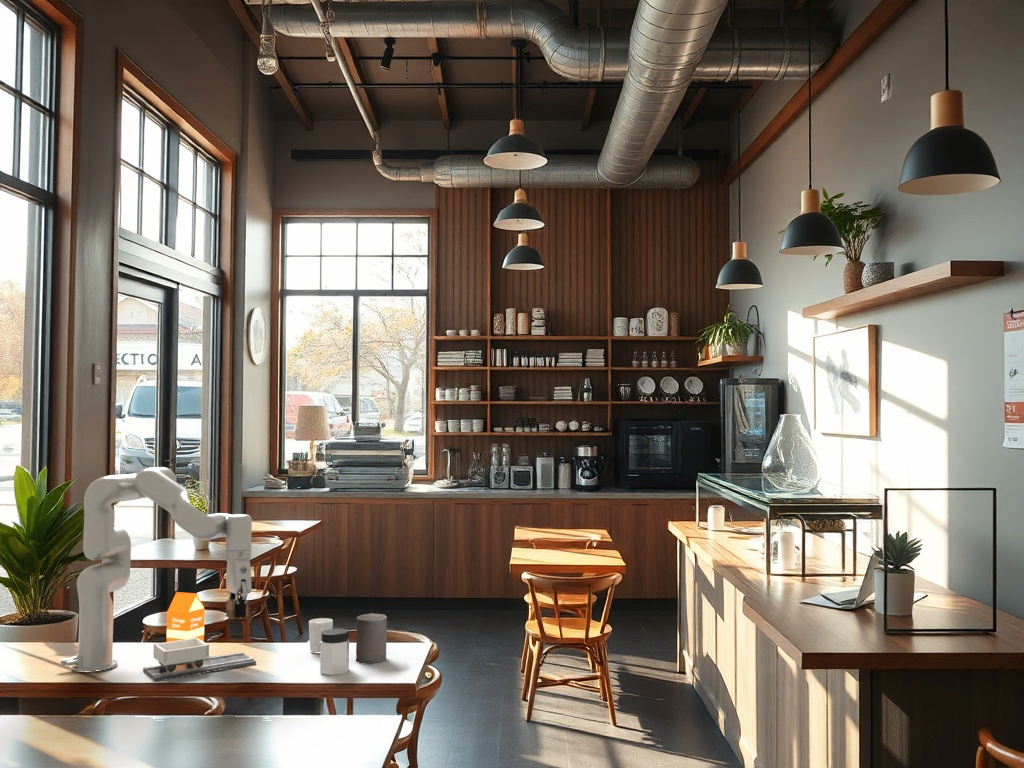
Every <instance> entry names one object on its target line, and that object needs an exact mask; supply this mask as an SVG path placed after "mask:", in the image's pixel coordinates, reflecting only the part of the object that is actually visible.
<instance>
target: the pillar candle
mask: <svg viewBox="0 0 1024 768" xmlns="http://www.w3.org/2000/svg"><path fill="white" fill-rule="evenodd" d="M387 619H388V616H387V615H385V614H381V613H373V612H371V613H365V614H360V615H358V616H356V634H355V635H356V636H355V637H356V639H355V642H356V643H355V648H356V649H355V654H356V655H355V656H356V657H355V662H356V661H357V662H356V663H358V662H359V663H358V664H361V663H365V664H364V665H375V664H374V663H377V664H381V663H383V661H384V662H386V660H387V638H388V637H387V633H388V631H387V625H388V620H387Z"/></svg>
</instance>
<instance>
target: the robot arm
mask: <svg viewBox="0 0 1024 768" xmlns="http://www.w3.org/2000/svg"><path fill="white" fill-rule="evenodd" d="M190 497H191V496H190V491H189V490H188V489H187V488H186V487H184V486H183V485H181V484H180V483H178V482H177V476H176V474H175V473H174V471H173V470H172V469H170V468H168V467H165V466H158V467H157V466H156V467H147V468H143V469H141V470H140V471H139V472H134V473H128V474H126V473H125V474H110V475H106V476H105V475H104V476H102V477H98V478H97V479H95V480H94V481H92V482H91V483H90V484H89V485H88V487H87V488H86V490H85V492H84V497H83V509H84V510H83V511H84V514H83V515H84V521H83V539H82V541H83V543H82V547H83V548H82V549H83V553H84V556H85V557H86V558H87V559H89V560H90V561H101V563H97V564H93V565H91V566H90V565H89V566H87V567H86V568H84V569H83V570H82V571H81V572H80V573H79V574H78V576H77V580H76V589H77V596H78V602H79V603H78V605H79V612H78V618H79V619H78V651H77V652H76V653H75V656H72V657H70V658H60V666H61V667H62V666H66V667H69V666H72V667H71V670H74V671H83V672H84V671H96V670H104V669H109V670H111V669H110V668H112V669H114V668H116V667H117V666H118V663H119V662H118V660H116V659H113V641H114V638H113V637H114V636H113V635H114V603H113V599H112V597H111V593H112V592H116V591H118V590H120V589H122V588H124V587H125V586H126V585H127V584H128V582H129V580H130V575H131V560H132V557H131V556H132V555H131V554H132V542H131V537H130V534H128V532H127V531H126V529H124V528H122V527H119V526H118V527H117V526H115V512H114V509H113V506H112V504H113V503H119V502H120V503H121V502H127V501H135V500H139V499H144V498H147V499H149V500H150V501H152V502H153V503H156V504H157V505H158V506H159V507H161V508H163V509H164V510H166V511H167V512H168V513H169V514H170V516H171V518H172V520H173V521H174V523H176V525H177V526H178V527H179V528H181V529H182V530H184V531H185V532H187V533H188V534H189V535H191V536H192V537H194V538H196V539H198V540H200V541H201V540H202V541H211V540H214V539H219V538H225V550H224V551H225V553H224V555H225V556H224V557H225V558H224V560H225V562H227V563H226V574H225V576H226V577H225V586H226V587H225V588H226V591H228V599H227V600H229V599H236V604H235V618H237V619H241V618H240V617H245V616H246V600H247V597H248V595H249V594H250V593H251V592H252V568H251V560H252V531H253V527H252V523H253V521H252V517H251V515H249V514H244V513H237V514H230V513H225V512H224V513H223V512H216V513H211V514H205V513H204V512H202V511H201V510H200V509H198V508H196V506H194V505H193V504H192V503H191V502H190V500H189V499H190ZM245 618H246V617H245ZM115 666H116V667H115ZM113 667H114V668H113ZM74 671H73V672H74Z"/></svg>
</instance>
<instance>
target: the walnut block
mask: <svg viewBox="0 0 1024 768" xmlns="http://www.w3.org/2000/svg"><path fill="white" fill-rule="evenodd" d="M235 604H236V599H229V600H228V599H226V607H225V617H227V618H229V619H230V620H235V619H238V618H235ZM243 618H249V599H246V616H245V617H240V618H239V619H243Z"/></svg>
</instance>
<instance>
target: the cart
mask: <svg viewBox="0 0 1024 768" xmlns="http://www.w3.org/2000/svg"><path fill="white" fill-rule="evenodd" d="M209 655H210V645H209V643H208V644H207V643H206V642H205V641H204V642H203V641H202V640H200V639H198V638H192V639H185V640H178V641H171V642H167V641H166V642H158V643H153V658H154V659H155V660H156V661H157V662H158V665H164V666H165V665H167V670H168V671H170V672H173V671H174V670H175V669H176V665H175V664H177V663H183V662H190V661H194V665H195V666H196V667H201V666H202V665H203V660H202V659H209V657H210V656H209Z"/></svg>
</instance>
